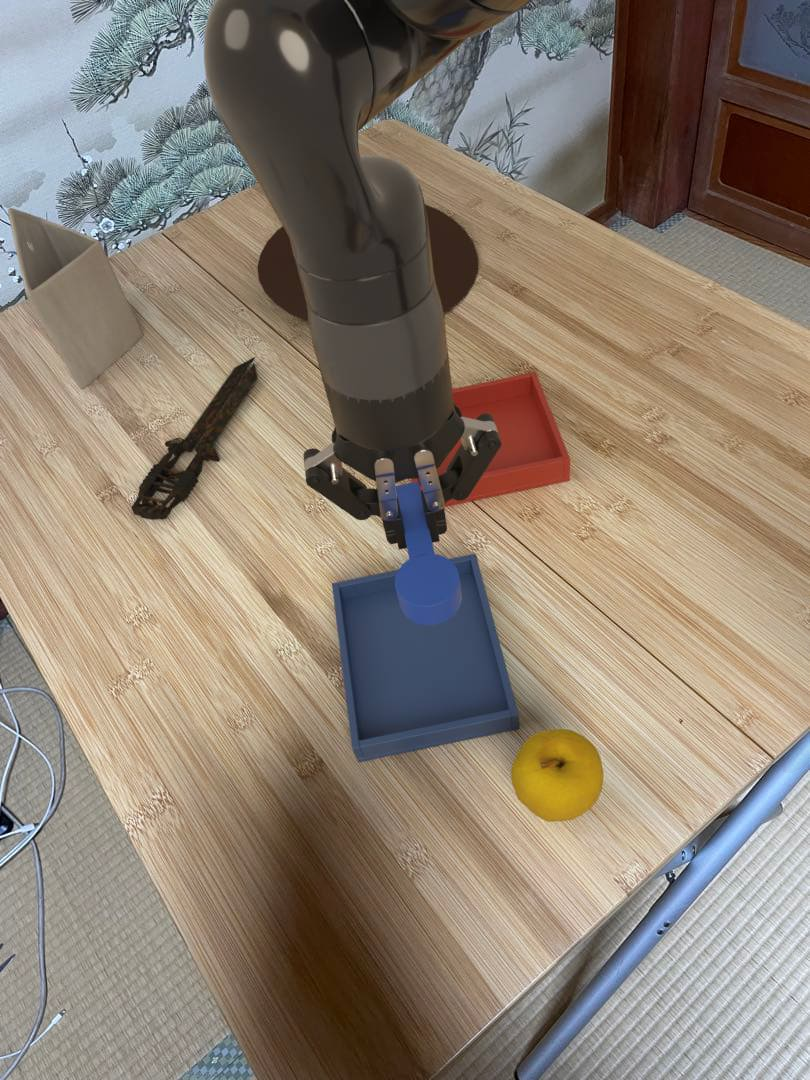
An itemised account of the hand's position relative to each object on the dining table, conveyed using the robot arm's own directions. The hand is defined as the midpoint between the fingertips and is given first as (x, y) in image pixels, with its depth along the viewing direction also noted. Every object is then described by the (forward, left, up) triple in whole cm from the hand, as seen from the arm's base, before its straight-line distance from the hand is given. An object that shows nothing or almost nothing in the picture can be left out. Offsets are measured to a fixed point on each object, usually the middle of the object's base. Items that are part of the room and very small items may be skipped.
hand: (417, 536), depth 61 cm
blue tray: (+2, +2, -15) cm, 15 cm away
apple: (-6, +16, -15) cm, 22 cm away
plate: (-1, -56, -15) cm, 58 cm away
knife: (+21, -32, -15) cm, 41 cm away
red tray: (-8, -21, -15) cm, 27 cm away
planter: (+33, -53, -15) cm, 64 cm away
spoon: (0, +2, 0) cm, 2 cm away
